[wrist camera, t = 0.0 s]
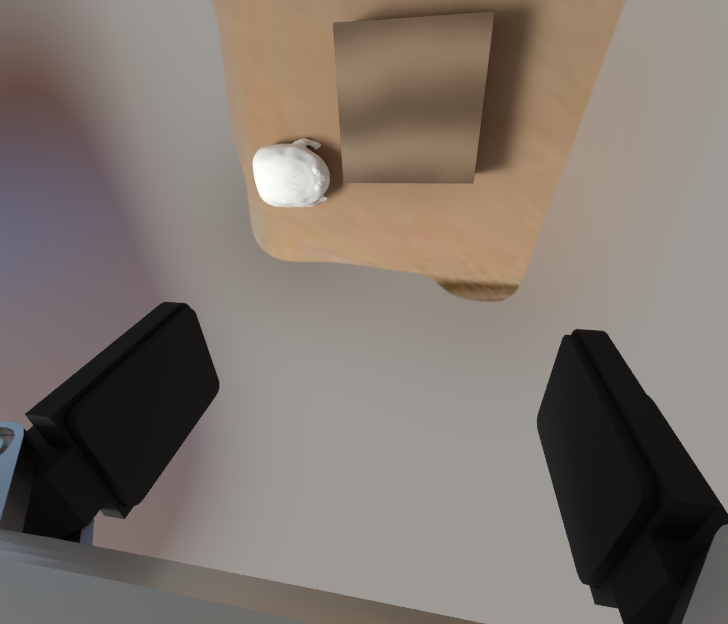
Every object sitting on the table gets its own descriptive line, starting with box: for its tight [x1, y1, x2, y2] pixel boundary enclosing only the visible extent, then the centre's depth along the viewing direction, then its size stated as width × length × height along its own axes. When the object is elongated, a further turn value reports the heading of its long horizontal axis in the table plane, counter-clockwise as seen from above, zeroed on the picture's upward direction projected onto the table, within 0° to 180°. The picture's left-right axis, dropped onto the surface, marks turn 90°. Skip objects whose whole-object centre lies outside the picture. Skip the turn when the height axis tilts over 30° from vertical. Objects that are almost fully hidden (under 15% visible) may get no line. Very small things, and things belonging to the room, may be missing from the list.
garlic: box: [253, 138, 330, 207], centre depth 37 cm, size 8×7×4 cm
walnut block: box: [333, 11, 495, 183], centre depth 32 cm, size 12×12×4 cm
